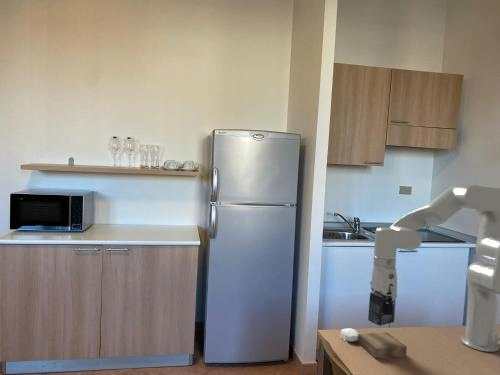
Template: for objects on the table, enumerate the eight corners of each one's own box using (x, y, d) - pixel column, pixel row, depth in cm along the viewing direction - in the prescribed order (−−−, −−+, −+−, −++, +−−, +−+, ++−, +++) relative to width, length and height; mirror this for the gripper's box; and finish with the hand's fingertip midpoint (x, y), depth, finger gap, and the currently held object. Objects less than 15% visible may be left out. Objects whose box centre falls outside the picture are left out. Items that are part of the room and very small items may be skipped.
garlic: (363, 344, 142) (364, 334, 142) (346, 345, 141) (347, 335, 141) (353, 335, 150) (354, 325, 150) (337, 335, 149) (338, 326, 148)
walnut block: (386, 342, 145) (386, 332, 145) (405, 357, 133) (406, 346, 133) (357, 344, 142) (358, 334, 142) (375, 360, 130) (375, 348, 130)
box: (380, 326, 133) (382, 296, 133) (367, 320, 138) (369, 292, 138) (394, 322, 137) (396, 293, 137) (381, 317, 142) (383, 289, 142)
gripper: (408, 268, 129) (405, 319, 130) (381, 256, 146) (378, 301, 147) (388, 268, 128) (385, 319, 128) (363, 256, 145) (360, 302, 145)
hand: (381, 309), depth 138 cm, fingers closed on box, 7 cm apart
